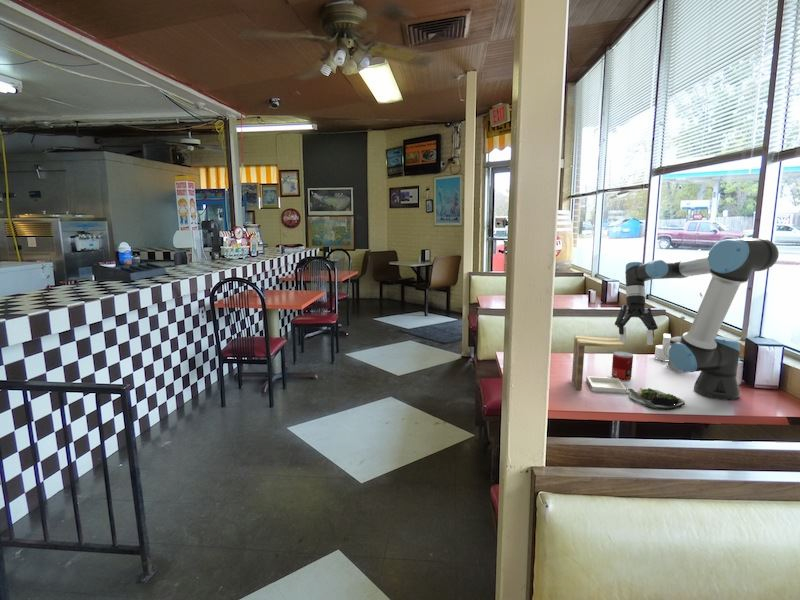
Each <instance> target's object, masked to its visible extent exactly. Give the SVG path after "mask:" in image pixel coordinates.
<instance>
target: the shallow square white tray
mask: <svg viewBox="0 0 800 600" xmlns="http://www.w3.org/2000/svg"><path fill="white" fill-rule="evenodd" d="M585 377H586V378H585V381H586V383H587V385H588V386H589V389H590V390H591V392H597V393H608V394H609V393H611V394H615V393H616V394H625V395H626V394H628V393H627V392H628V388H627V387H626V386H625V385H624V384H623V383H622V380H620V379H619V378H613V377H609V376H608V377H606V376H605V377H604V376H592V375H591V376H590V375H589V376H588V375H587V376H585Z"/></svg>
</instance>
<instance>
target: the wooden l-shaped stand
mask: <svg viewBox="0 0 800 600" xmlns="http://www.w3.org/2000/svg"><path fill="white" fill-rule="evenodd" d="M573 340H574V341H573V357H572V369H571V370H572V374H571V381H572V383H574V384H573V385H575V386H574V388H575V387H576V388H575V390H576V391H582V390H583V389H582V388H583V376H584V374H583V373H584V361H585V347H603V348H605V347H607V348H624V349H625V347H626V344H625V343H624V342H621V341H620V339H619V337H618V336H616V337H615V336H596V335H595V336H594V335H577V334H576V335H574V339H573Z"/></svg>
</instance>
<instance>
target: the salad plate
mask: <svg viewBox="0 0 800 600" xmlns="http://www.w3.org/2000/svg"><path fill="white" fill-rule="evenodd" d="M628 391H629V392H630V393H629V398H630V399H631V400H633V401H634V402H636V403H638V404H641V405H643V406H646V407H648V408H651V409H653V410H659V411H660V410H661V411H671V410H676V408H677V409H680V408H681V407H683V406H684V405H685V400H684V399H682V398H681V397H679V396H676V395H674V394H670V393H666V392H664V391H661V390H657V389H652V388H649V387H648V388H641V387H640V388H639V390H638V391H636V390H635V389H633V388H627V392H628ZM674 404H675V405H674Z"/></svg>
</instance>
